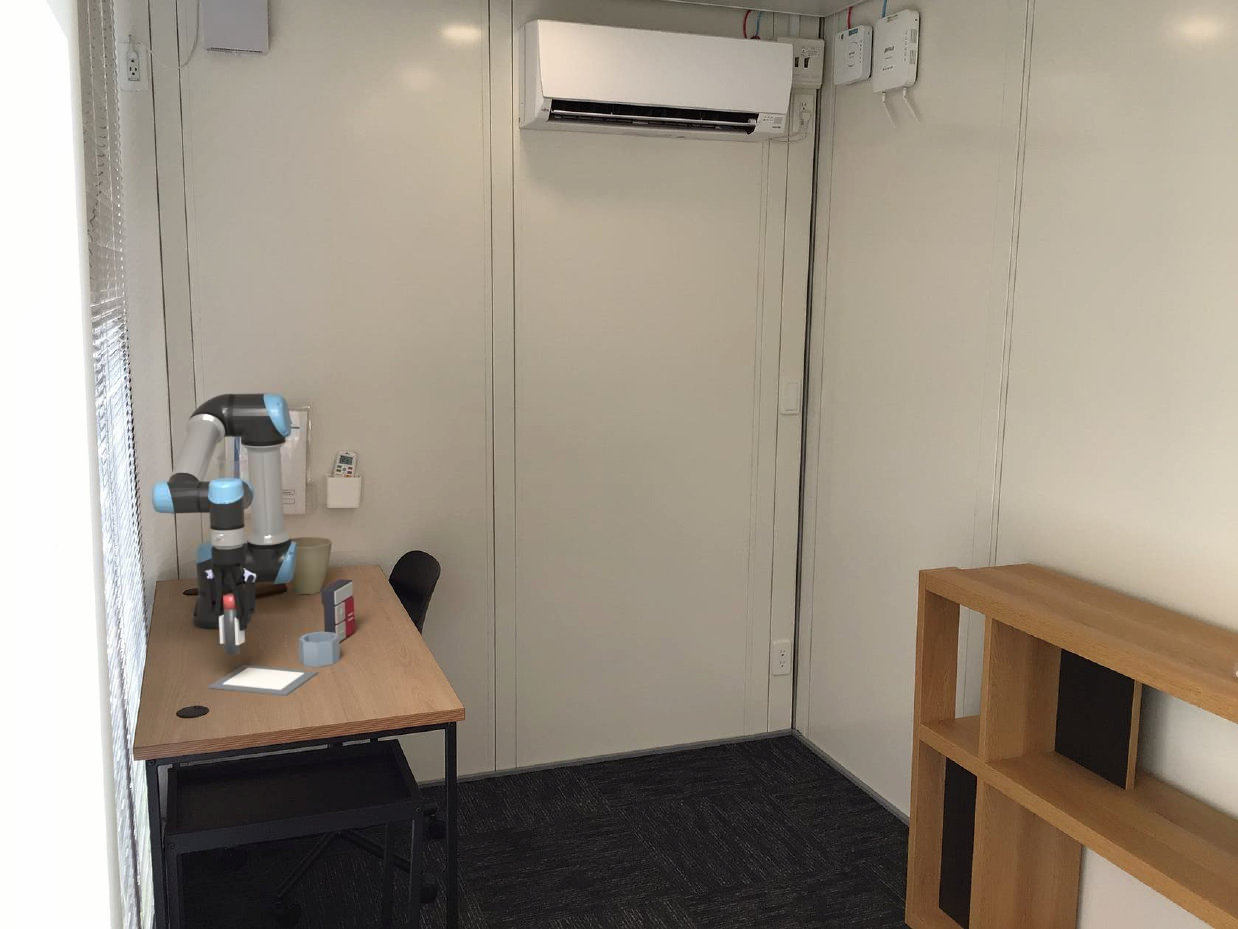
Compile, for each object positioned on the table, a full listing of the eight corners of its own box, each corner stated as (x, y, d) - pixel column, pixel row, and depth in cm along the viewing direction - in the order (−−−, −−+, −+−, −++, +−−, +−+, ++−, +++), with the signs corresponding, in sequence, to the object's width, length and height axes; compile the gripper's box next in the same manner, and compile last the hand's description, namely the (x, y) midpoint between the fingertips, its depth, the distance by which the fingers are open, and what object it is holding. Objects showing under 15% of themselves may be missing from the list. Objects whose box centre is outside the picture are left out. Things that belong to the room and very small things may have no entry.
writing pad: (208, 688, 242) (208, 685, 242) (243, 666, 256) (243, 664, 256) (286, 695, 238) (286, 693, 238) (318, 673, 252) (317, 671, 252)
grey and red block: (337, 645, 273) (336, 590, 270) (322, 644, 273) (320, 589, 271) (356, 632, 283) (354, 579, 281) (341, 631, 284) (340, 578, 282)
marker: (222, 654, 243) (219, 596, 241) (231, 650, 246) (228, 592, 244) (235, 655, 242) (232, 597, 240) (243, 651, 245) (241, 594, 243)
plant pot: (316, 600, 313) (314, 549, 310) (273, 595, 317) (271, 545, 314) (342, 587, 327) (341, 538, 325) (301, 583, 331) (299, 534, 329)
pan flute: (208, 610, 303) (287, 594, 321) (208, 599, 302) (287, 583, 320) (173, 593, 320) (250, 578, 338) (172, 582, 320) (249, 568, 337)
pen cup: (294, 664, 258) (293, 641, 257) (311, 653, 267) (311, 630, 266) (327, 668, 256) (327, 644, 255) (344, 656, 265) (343, 633, 264)
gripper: (186, 546, 238) (191, 645, 241) (251, 551, 235) (255, 650, 238) (206, 539, 245) (210, 635, 249) (269, 543, 242) (272, 640, 246)
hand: (232, 642), depth 243 cm, fingers closed on marker, 3 cm apart
